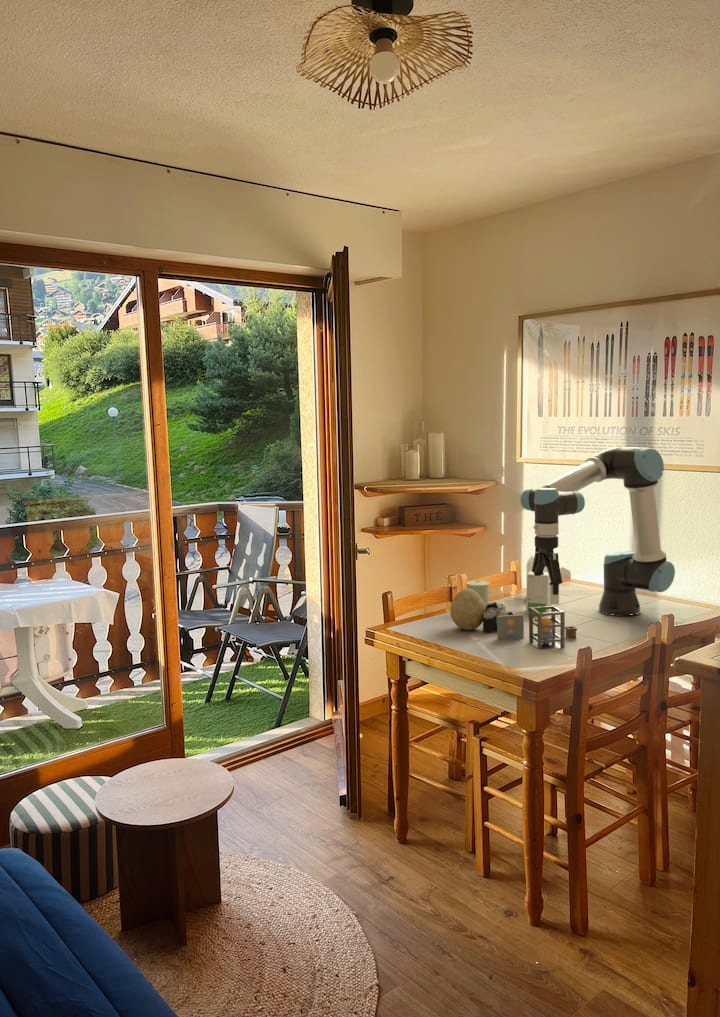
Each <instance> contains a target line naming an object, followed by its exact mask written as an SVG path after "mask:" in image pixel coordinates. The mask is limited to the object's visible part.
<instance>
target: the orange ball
mask: <svg viewBox="0 0 720 1017" xmlns="http://www.w3.org/2000/svg"><path fill="white" fill-rule="evenodd" d="M548 618H549V617H542V625H548V624H552V622H551V620H550V619H548ZM537 623H538V622H537ZM536 628H537V629H538V627H537V626H536ZM551 629H552V627H548V628H542V632H543V633H548V632H550V631H551Z"/></svg>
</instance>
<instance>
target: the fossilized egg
mask: <svg viewBox="0 0 720 1017" xmlns="http://www.w3.org/2000/svg"><path fill="white" fill-rule="evenodd" d="M484 612H486V607H485V604H484V601H483V599H482V598H481V596H480V595H479V594H478V593H477V592H476V591H474V590H472V589H467V588H464V589H461V590H459V591H458V592H457V594H456V595H455V596H454V597H453V599H452V601H451V604H450V612H449V614H450V618H451V620H452V622H453V623H454V624H455V626H457V627H458V628H460V629H462V630H466V631H472V630H475V629H477V628H479V627H480V626H481V625H483V617H484Z"/></svg>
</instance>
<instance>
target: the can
mask: <svg viewBox="0 0 720 1017" xmlns="http://www.w3.org/2000/svg"><path fill="white" fill-rule="evenodd" d="M490 583H491V582H490V581H487V580H469V581H467V582H466V589H472V590H474V591H476V592H477V593H478V594H479V595H480V596H481V598H482V599H483V601H484V604H485V607H486V606H487V604H489V603H490V602H491V596H490V594H491V591H490V590H491V587H490V585H491V584H490Z"/></svg>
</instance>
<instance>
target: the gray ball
mask: <svg viewBox="0 0 720 1017" xmlns="http://www.w3.org/2000/svg"><path fill="white" fill-rule="evenodd" d="M547 639H553V633H552V632H551V631H550V632H548V633H543V632H542V640H547ZM549 643H551V642H548V643H542V644H549Z"/></svg>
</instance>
